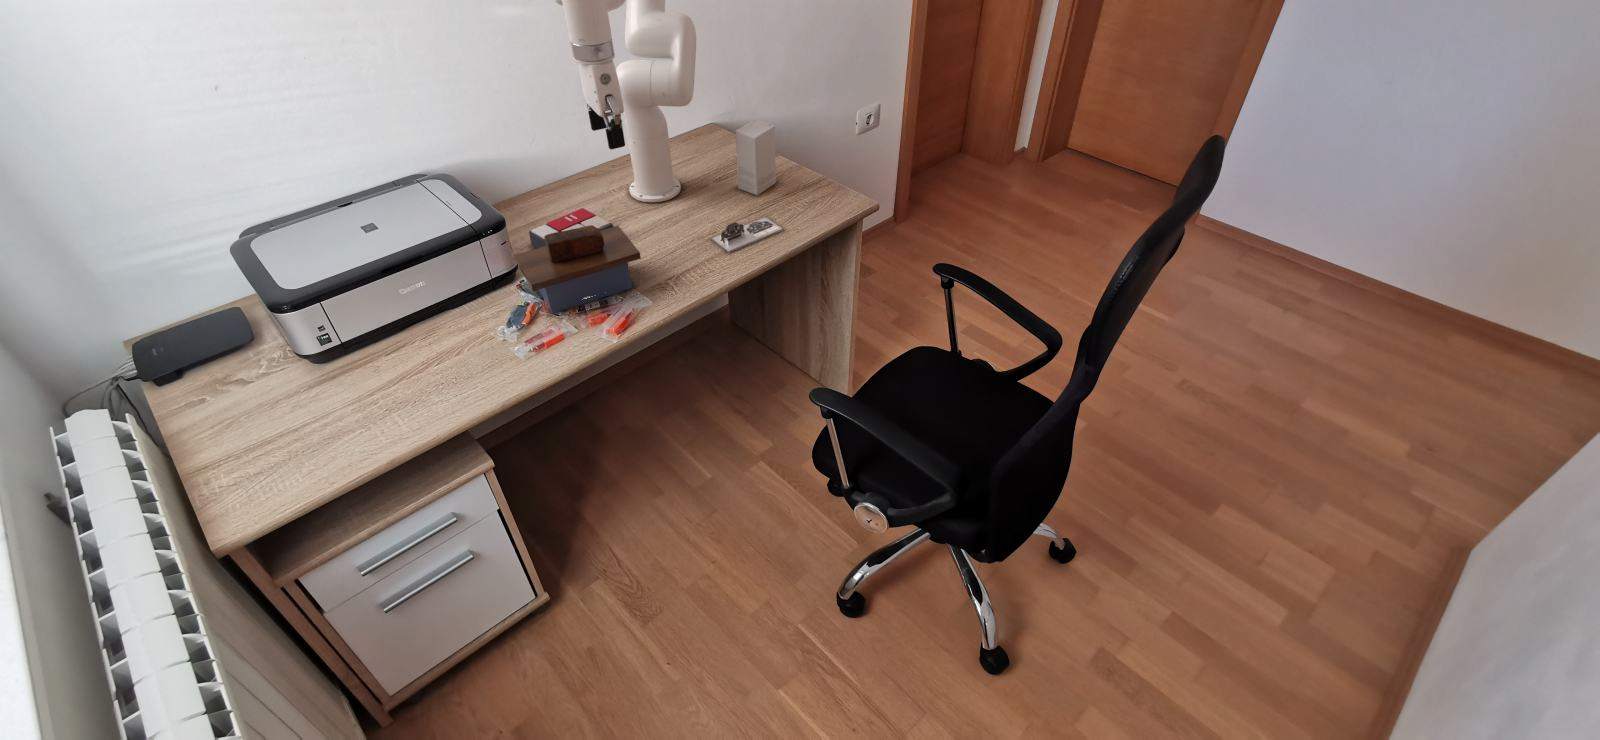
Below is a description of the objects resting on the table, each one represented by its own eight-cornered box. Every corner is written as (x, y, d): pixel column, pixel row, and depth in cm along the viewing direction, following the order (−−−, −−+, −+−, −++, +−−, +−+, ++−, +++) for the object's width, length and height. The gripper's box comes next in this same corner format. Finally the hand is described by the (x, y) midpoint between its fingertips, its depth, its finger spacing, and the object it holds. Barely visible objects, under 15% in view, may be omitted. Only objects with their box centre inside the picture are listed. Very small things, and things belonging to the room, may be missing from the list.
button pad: (613, 221, 168) (557, 246, 159) (615, 238, 171) (561, 263, 161) (582, 205, 173) (527, 228, 164) (585, 222, 176) (530, 245, 167)
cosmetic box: (757, 176, 192) (755, 117, 181) (778, 183, 189) (777, 124, 179) (736, 189, 187) (733, 129, 176) (757, 196, 184) (755, 136, 174)
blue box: (537, 288, 155) (529, 260, 150) (615, 264, 161) (609, 237, 157) (552, 313, 149) (544, 284, 144) (632, 288, 155) (627, 259, 150)
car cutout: (729, 252, 165) (727, 234, 162) (712, 239, 169) (711, 222, 166) (782, 230, 172) (782, 213, 169) (765, 218, 176) (764, 201, 173)
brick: (552, 264, 146) (547, 244, 143) (548, 254, 149) (543, 234, 146) (606, 252, 150) (602, 231, 147) (600, 242, 152) (596, 222, 149)
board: (515, 261, 150) (513, 254, 149) (619, 231, 158) (618, 225, 157) (533, 291, 142) (531, 285, 141) (641, 258, 151) (639, 252, 150)
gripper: (629, 60, 133) (642, 150, 144) (596, 32, 144) (610, 118, 155) (589, 68, 130) (605, 159, 141) (558, 39, 141) (575, 126, 152)
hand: (608, 138), depth 148 cm, fingers open, 9 cm apart
